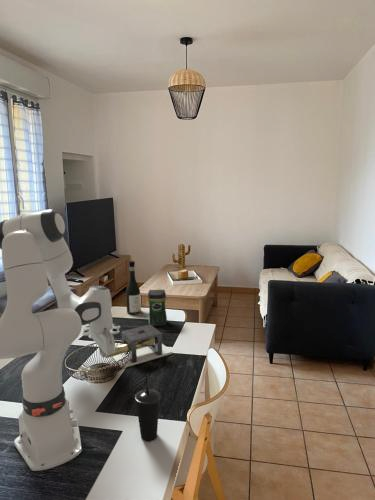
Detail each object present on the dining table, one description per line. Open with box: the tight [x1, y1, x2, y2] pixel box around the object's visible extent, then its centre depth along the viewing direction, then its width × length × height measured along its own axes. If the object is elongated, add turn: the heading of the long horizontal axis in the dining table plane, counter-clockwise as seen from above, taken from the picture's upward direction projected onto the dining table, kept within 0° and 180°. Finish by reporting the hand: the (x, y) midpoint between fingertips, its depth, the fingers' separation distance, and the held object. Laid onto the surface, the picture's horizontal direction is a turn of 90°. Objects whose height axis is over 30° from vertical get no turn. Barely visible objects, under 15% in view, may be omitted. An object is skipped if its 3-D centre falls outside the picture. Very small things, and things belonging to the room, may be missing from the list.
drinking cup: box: [134, 375, 161, 443], centre depth 113 cm, size 8×8×20 cm
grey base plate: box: [111, 343, 173, 369], centre depth 165 cm, size 24×11×1 cm, turn 122°
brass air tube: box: [105, 337, 155, 359], centre depth 161 cm, size 22×4×4 cm, turn 122°
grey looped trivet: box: [81, 323, 121, 339], centre depth 192 cm, size 20×20×2 cm
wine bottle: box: [125, 260, 142, 315], centre depth 213 cm, size 8×8×30 cm
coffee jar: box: [147, 289, 168, 327], centre depth 198 cm, size 10×8×19 cm
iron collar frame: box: [121, 324, 163, 363], centre depth 164 cm, size 14×11×10 cm
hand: (103, 355), depth 156 cm, fingers closed
